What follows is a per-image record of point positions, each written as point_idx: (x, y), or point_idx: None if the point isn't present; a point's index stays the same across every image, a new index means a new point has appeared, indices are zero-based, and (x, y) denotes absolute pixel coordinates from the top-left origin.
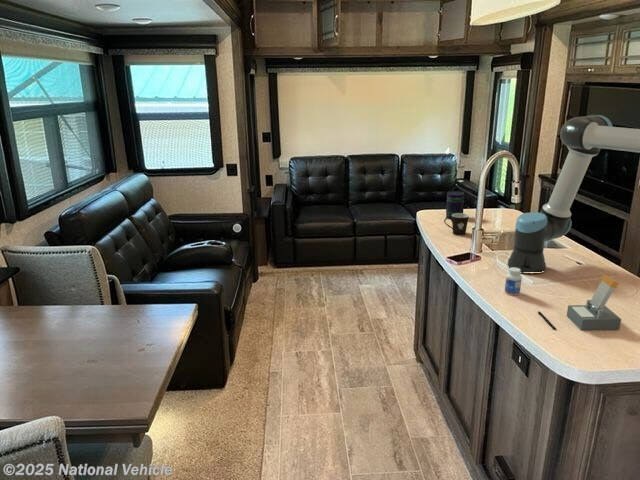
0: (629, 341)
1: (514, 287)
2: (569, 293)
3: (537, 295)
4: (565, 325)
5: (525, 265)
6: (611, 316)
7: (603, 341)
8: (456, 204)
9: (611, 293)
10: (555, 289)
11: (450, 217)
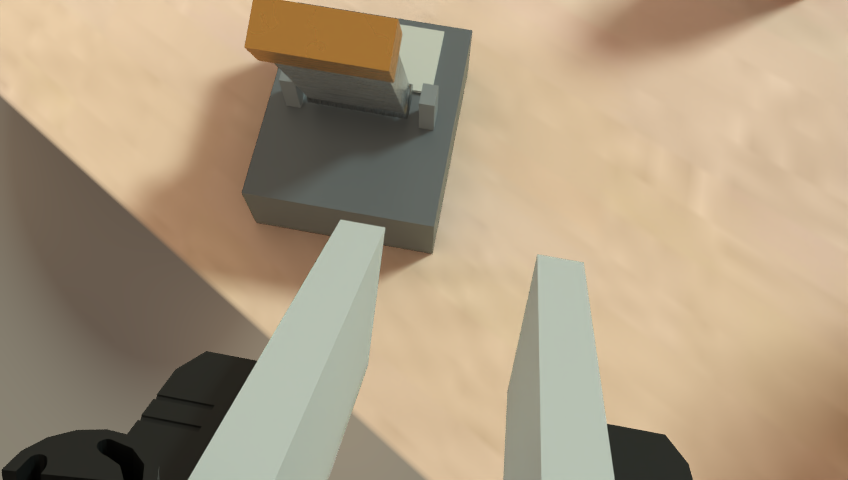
0: (142, 191)
1: None
2: (757, 262)
3: (742, 69)
4: (373, 9)
5: None
6: (285, 162)
7: (184, 76)
8: None
9: (278, 65)
10: (825, 214)
11: None
